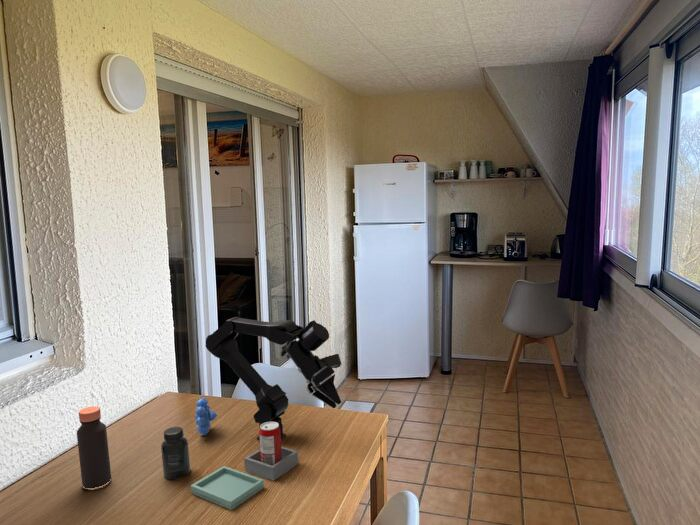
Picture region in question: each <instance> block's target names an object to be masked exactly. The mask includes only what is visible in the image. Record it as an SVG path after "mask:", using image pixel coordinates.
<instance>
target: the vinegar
mask: <svg viewBox="0 0 700 525" xmlns="http://www.w3.org/2000/svg"><path fill="white" fill-rule="evenodd" d="M101 417H102V413H101V408H100V406H96V405H95V406H87V407H84V408H82V409H80V410H79V411H78V419H79V423H80V426H79V427H78V429H77V431H76V440H77V448H78V457H79V467H80V476H81V484H82V485H83V486H84V487H85V488H95V487H99V486H102V485H104V484H106V483H107V482H109V481H110V479H111V480H112V471H111V462H110V452H109V441H108V433H107V431H108V430H107V426H106V424H105V423H103V422H102V421H101V419H102V418H101ZM82 485H81V486H82ZM83 486H82V487H83Z"/></svg>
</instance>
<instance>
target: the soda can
mask: <svg viewBox="0 0 700 525" xmlns="http://www.w3.org/2000/svg"><path fill="white" fill-rule="evenodd" d="M258 434H259V435H258V436H259V438H260V440H259V449H260V453H261V462H263V463H266V464H269V465H272V466H273V465H274V464H276V463H277V462H279V461H280V460H282V449H281V446H282V439H281V432H280V427H279V424H278V423H277V422H265V423H263V424H261V425H260V427H259V431H258Z"/></svg>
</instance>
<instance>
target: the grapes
mask: <svg viewBox="0 0 700 525" xmlns="http://www.w3.org/2000/svg"><path fill="white" fill-rule="evenodd" d="M195 405H196V407H197V408H196V409H195V411H194V413H195V416H194V418H195V419H196V420H195V421H194V422H195V424H196V425H197V426H198V427H197V428H196V431H197V432H198V433H199V434H200V435H201V436H203V435H205V436H207V434H208V433H209V432H210V429H209V428H210V427H211V421H215V419H216V418H217V416H218V414H217V413H216V412H215V411H213V410H211V411H210V409H211V408H210V407H211V406H209V400H207V399H206V398H205V397H201V398H200V399H198V400H197V401H196V404H195Z"/></svg>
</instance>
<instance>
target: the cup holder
mask: <svg viewBox="0 0 700 525" xmlns="http://www.w3.org/2000/svg"><path fill="white" fill-rule="evenodd" d="M281 449H282V460H280V461H279V462H277V463H276V464H274V465H273V466H272V465H269V464H266V463H263V462H261V453H260V448H259V449H258V450H256V451H254V452H252V453H250V454H249V455H248V456H247V455H246V457H244V458H243V459H244V471H245V472H247V473H250V474H252V475H255V476H258V477H261V478H265V479H267V480H271V481H273V482H274V481H275V480H277V479H278V478H280V477H282V476H283V475H284V474H286V473H287V472H289V471H290V470H292V468H294V467H296V466H297V465H299V452H298V451H297V450H294V449H292V448H288V447H286V446H285V447H284V446H282V445H281Z"/></svg>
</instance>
